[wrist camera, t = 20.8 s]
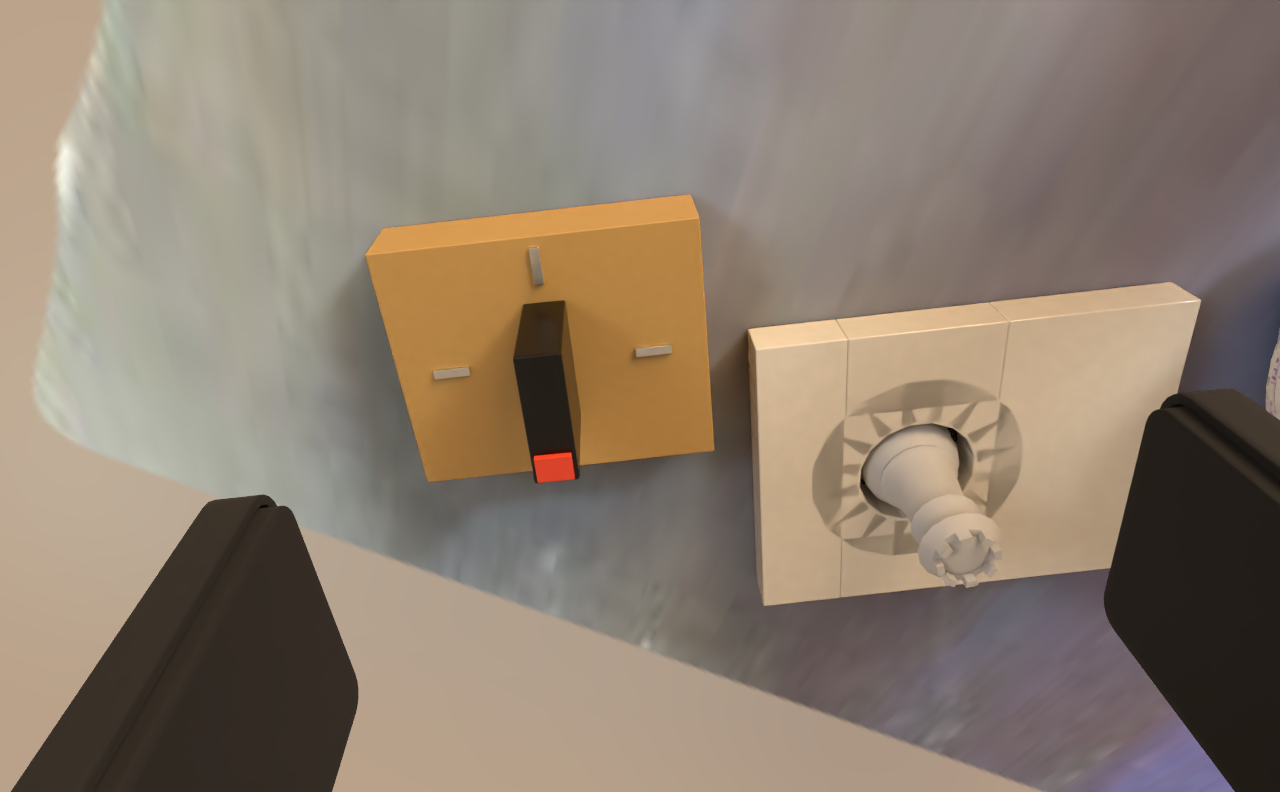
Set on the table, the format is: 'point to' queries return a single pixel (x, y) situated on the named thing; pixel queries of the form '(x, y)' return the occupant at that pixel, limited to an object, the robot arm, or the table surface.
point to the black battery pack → (548, 391)
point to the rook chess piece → (934, 502)
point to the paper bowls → (1274, 383)
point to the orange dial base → (598, 323)
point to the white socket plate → (957, 430)
